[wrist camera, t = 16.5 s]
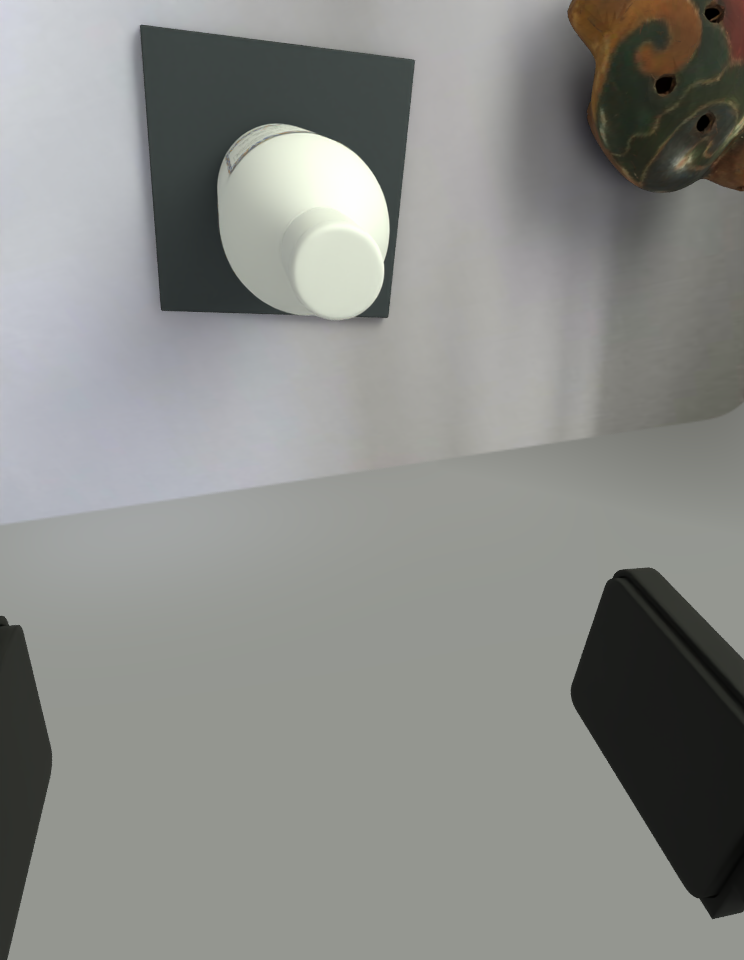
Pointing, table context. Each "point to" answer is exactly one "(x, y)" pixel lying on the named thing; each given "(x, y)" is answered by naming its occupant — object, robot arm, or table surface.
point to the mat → (238, 109)
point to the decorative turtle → (667, 88)
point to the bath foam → (302, 222)
